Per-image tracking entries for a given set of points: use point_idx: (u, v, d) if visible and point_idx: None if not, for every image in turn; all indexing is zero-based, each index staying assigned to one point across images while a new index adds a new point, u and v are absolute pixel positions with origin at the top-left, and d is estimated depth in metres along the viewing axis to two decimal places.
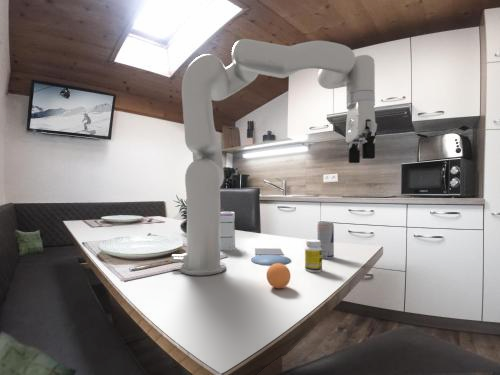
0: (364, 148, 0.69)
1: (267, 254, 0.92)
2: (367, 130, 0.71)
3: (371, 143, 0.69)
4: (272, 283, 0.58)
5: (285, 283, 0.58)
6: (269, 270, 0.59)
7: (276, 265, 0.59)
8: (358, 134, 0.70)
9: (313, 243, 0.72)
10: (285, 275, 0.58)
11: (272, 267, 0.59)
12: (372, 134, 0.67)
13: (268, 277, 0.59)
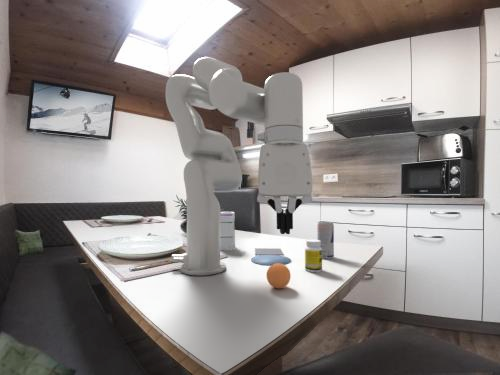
0: None
1: (267, 254, 0.92)
2: None
3: None
4: (272, 283, 0.58)
5: (285, 283, 0.58)
6: (269, 270, 0.59)
7: (276, 265, 0.59)
8: (310, 192, 0.48)
9: (313, 243, 0.72)
10: (285, 275, 0.58)
11: (272, 267, 0.59)
12: None
13: (268, 277, 0.59)
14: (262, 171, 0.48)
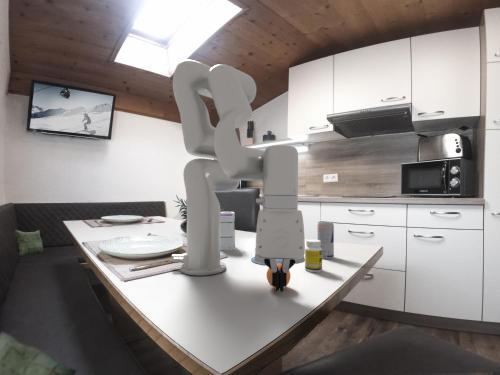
0: None
1: None
2: None
3: None
4: None
5: None
6: (269, 270, 0.59)
7: (276, 265, 0.59)
8: (302, 256, 0.53)
9: (313, 243, 0.72)
10: None
11: None
12: None
13: (268, 277, 0.59)
14: (259, 235, 0.53)
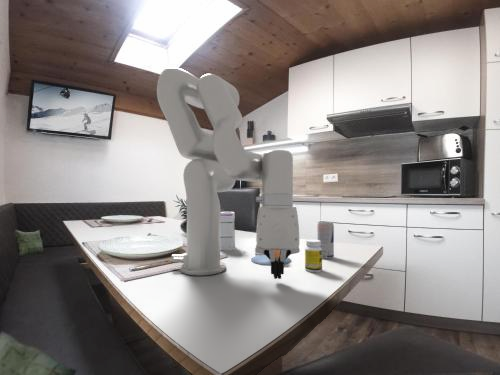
0: (280, 267, 0.62)
1: None
2: None
3: None
4: None
5: None
6: None
7: None
8: (297, 247, 0.61)
9: (313, 243, 0.72)
10: None
11: None
12: None
13: None
14: (259, 229, 0.61)
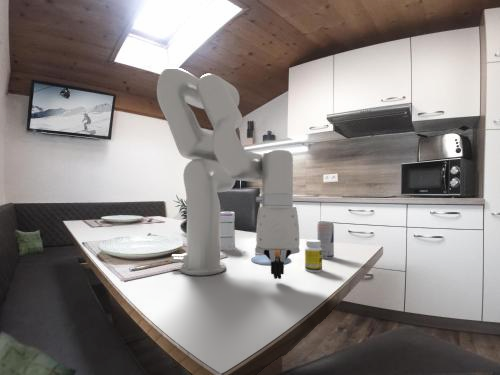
0: (280, 267, 0.62)
1: None
2: None
3: None
4: None
5: None
6: None
7: None
8: (297, 247, 0.61)
9: (313, 243, 0.72)
10: None
11: None
12: None
13: None
14: (259, 229, 0.61)
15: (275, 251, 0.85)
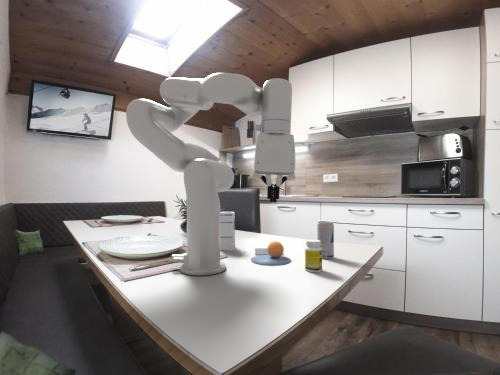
0: (276, 191, 0.65)
1: (267, 254, 0.92)
2: None
3: None
4: None
5: None
6: (269, 254, 0.88)
7: (274, 257, 0.87)
8: (293, 171, 0.64)
9: (313, 243, 0.72)
10: None
11: (271, 256, 0.88)
12: (285, 180, 0.66)
13: None
14: (257, 153, 0.64)
15: (275, 251, 0.85)
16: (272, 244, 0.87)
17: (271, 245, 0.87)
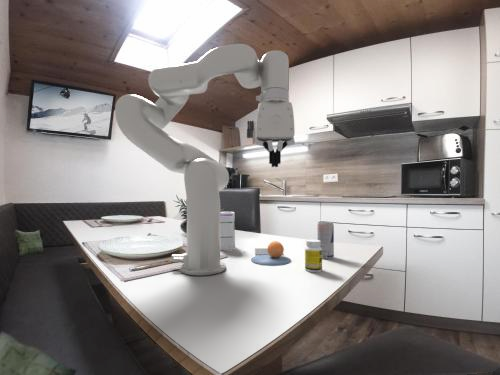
0: (278, 156, 0.70)
1: (267, 254, 0.92)
2: None
3: None
4: None
5: None
6: (269, 254, 0.88)
7: (274, 257, 0.87)
8: (292, 136, 0.68)
9: (313, 243, 0.72)
10: None
11: (271, 256, 0.88)
12: None
13: None
14: (259, 120, 0.68)
15: (275, 251, 0.85)
16: (272, 244, 0.87)
17: (271, 245, 0.87)
